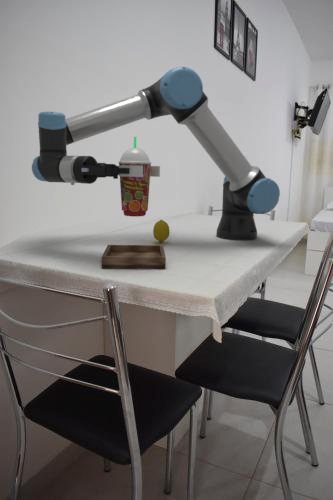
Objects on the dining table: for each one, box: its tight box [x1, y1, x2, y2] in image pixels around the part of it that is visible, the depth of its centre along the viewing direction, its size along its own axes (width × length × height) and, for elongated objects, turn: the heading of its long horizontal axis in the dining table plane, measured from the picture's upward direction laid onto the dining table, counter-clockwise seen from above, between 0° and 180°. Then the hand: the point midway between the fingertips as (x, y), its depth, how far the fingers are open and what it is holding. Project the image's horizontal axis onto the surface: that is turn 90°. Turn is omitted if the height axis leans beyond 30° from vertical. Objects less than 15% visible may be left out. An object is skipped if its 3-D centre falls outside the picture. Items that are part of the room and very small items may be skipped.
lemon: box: [152, 219, 171, 244], centre depth 132 cm, size 6×6×8 cm
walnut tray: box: [100, 244, 167, 270], centre depth 105 cm, size 16×16×3 cm
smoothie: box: [118, 136, 152, 217], centre depth 101 cm, size 8×8×20 cm
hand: (150, 171), depth 99 cm, fingers closed on smoothie, 8 cm apart
